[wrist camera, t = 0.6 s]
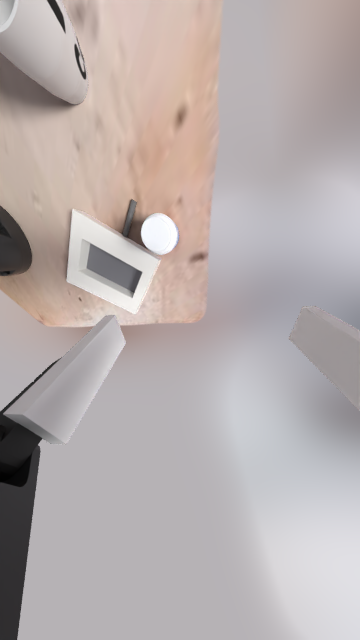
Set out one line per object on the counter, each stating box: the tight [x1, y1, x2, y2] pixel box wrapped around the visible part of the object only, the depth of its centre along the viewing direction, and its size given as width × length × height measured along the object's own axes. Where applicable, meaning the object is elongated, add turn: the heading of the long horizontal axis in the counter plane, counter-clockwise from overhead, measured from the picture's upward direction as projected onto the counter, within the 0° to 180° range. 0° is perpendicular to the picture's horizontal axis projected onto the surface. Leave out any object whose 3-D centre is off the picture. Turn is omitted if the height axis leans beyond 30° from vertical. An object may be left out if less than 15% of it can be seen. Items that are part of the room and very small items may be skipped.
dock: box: [67, 200, 162, 315], centre depth 27 cm, size 16×20×3 cm
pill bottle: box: [141, 213, 179, 255], centre depth 22 cm, size 6×5×10 cm
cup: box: [0, 0, 88, 104], centre depth 13 cm, size 8×8×10 cm
